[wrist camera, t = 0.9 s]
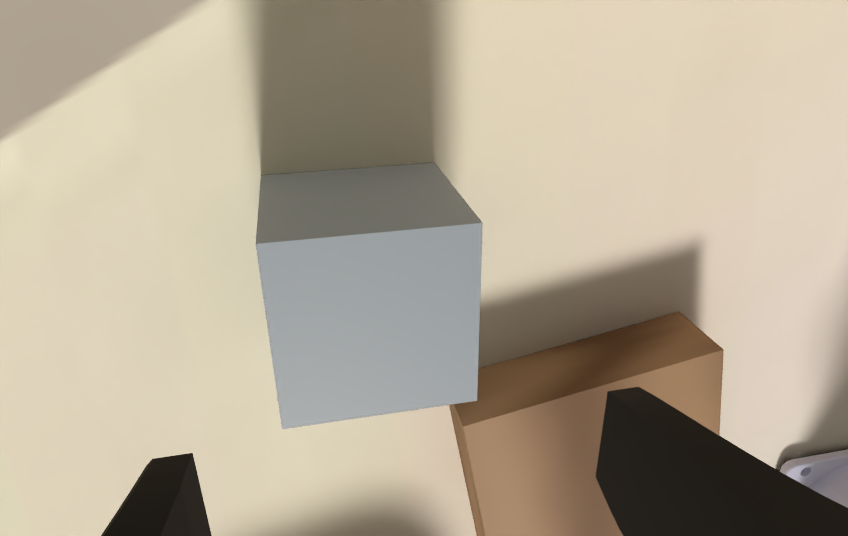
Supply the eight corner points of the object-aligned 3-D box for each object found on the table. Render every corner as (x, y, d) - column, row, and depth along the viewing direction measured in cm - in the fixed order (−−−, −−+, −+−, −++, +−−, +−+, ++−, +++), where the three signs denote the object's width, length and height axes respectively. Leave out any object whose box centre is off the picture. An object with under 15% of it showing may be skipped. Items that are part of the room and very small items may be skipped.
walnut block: (672, 306, 23) (723, 349, 21) (672, 478, 27) (714, 532, 25) (441, 372, 22) (463, 426, 20) (477, 540, 26) (499, 603, 24)
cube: (433, 161, 19) (482, 222, 14) (434, 308, 21) (476, 400, 16) (260, 174, 18) (255, 243, 13) (281, 326, 20) (282, 429, 15)
